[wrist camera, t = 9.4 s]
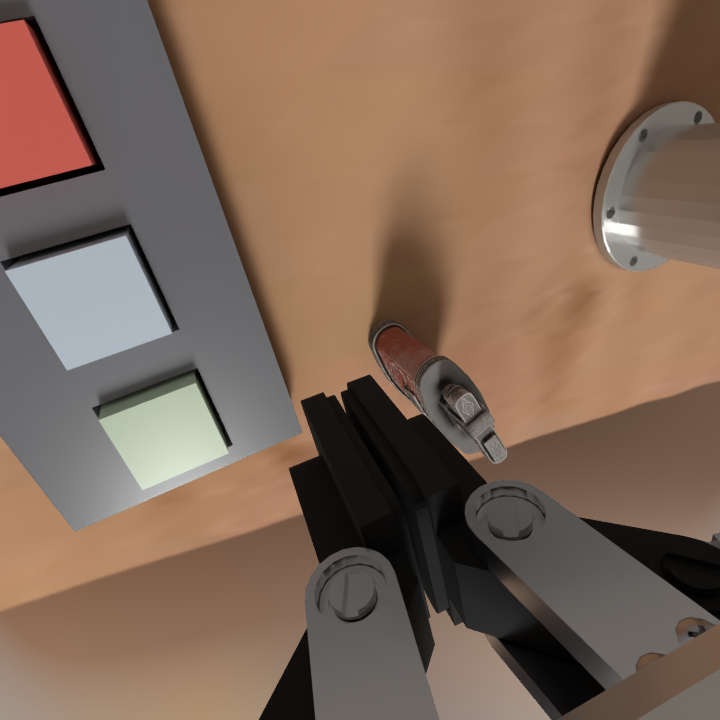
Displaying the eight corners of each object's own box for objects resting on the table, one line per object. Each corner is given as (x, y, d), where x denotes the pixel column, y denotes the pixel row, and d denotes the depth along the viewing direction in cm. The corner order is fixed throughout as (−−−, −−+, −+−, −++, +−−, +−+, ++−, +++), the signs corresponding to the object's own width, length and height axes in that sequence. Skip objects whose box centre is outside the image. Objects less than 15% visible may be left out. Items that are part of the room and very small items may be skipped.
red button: (42, 39, 19) (23, 19, 17) (100, 163, 22) (92, 165, 19) (-91, 64, 18) (-136, 47, 15) (-14, 192, 21) (-41, 198, 18)
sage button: (191, 358, 27) (195, 382, 24) (221, 424, 30) (228, 453, 27) (104, 390, 26) (98, 420, 23) (143, 456, 28) (142, 490, 26)
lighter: (357, 340, 32) (431, 407, 23) (394, 309, 32) (480, 365, 24) (410, 410, 36) (488, 488, 28) (443, 382, 36) (530, 452, 28)
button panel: (134, -18, 20) (132, -42, 18) (290, 410, 32) (302, 432, 29) (-248, 45, 17) (-318, 26, 14) (81, 498, 29) (74, 531, 26)
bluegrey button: (129, 225, 23) (125, 235, 20) (170, 313, 26) (172, 333, 23) (24, 255, 22) (4, 271, 19) (77, 345, 25) (67, 370, 22)
